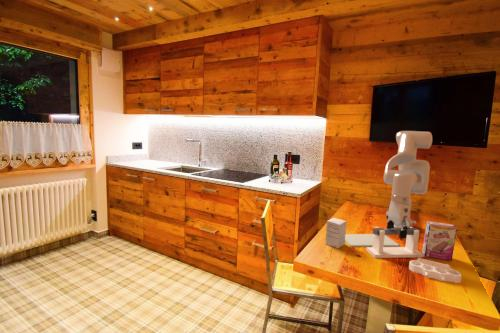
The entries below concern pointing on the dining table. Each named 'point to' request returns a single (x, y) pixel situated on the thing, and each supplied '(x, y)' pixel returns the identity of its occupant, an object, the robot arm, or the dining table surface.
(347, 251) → the dining table surface
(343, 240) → the supplement box
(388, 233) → the rail
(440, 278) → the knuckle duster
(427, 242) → the candy bar box
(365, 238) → the mat
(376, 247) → the hook rack
